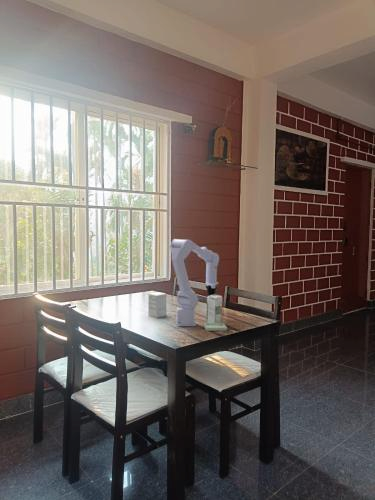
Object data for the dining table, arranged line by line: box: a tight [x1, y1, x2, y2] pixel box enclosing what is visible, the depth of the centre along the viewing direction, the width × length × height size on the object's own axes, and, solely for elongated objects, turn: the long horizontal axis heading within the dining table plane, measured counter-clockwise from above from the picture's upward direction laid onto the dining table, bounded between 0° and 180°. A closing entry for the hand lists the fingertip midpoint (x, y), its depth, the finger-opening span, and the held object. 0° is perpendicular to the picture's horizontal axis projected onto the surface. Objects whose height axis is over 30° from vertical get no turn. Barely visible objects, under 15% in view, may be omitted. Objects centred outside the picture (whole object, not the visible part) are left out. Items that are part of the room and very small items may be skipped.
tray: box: [203, 322, 228, 332], centre depth 182 cm, size 10×9×1 cm
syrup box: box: [205, 294, 223, 323], centre depth 190 cm, size 6×6×14 cm
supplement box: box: [147, 291, 167, 319], centre depth 203 cm, size 7×7×13 cm
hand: (210, 299), depth 200 cm, fingers closed
